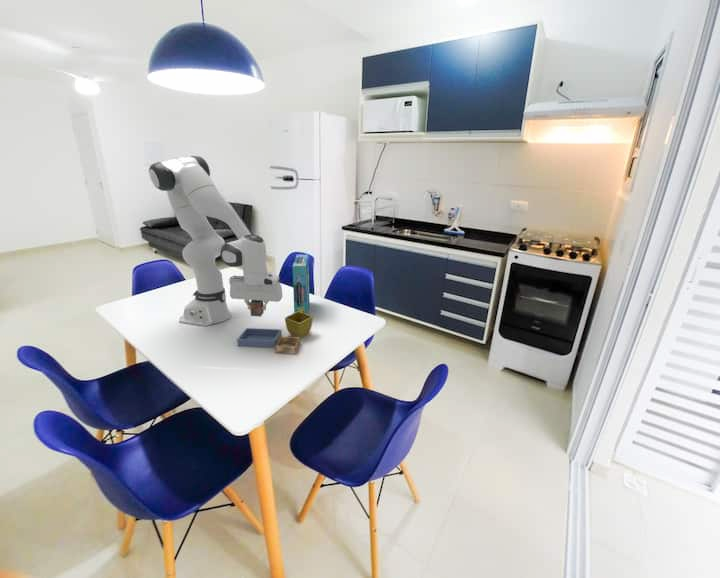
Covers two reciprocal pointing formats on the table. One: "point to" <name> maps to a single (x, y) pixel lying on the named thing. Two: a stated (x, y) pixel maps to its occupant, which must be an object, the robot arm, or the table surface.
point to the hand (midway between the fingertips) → (257, 309)
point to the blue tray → (259, 338)
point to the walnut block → (256, 308)
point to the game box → (301, 283)
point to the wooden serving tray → (287, 345)
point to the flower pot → (298, 324)
